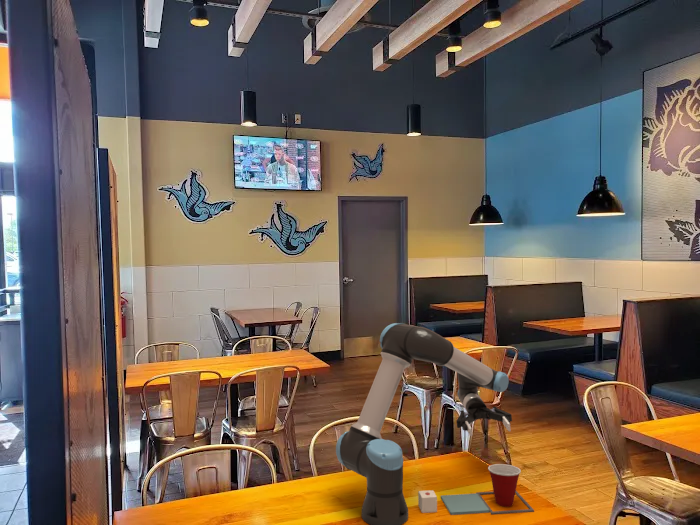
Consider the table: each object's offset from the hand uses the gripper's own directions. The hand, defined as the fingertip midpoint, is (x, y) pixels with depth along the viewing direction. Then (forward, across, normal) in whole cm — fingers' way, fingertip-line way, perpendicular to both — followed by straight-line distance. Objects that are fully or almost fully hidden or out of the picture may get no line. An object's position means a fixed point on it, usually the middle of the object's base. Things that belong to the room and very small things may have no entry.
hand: (490, 430), depth 192 cm
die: (+12, +26, -19) cm, 34 cm away
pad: (+10, +13, -21) cm, 26 cm away
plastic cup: (+8, 0, -23) cm, 24 cm away
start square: (+8, 0, -22) cm, 24 cm away
